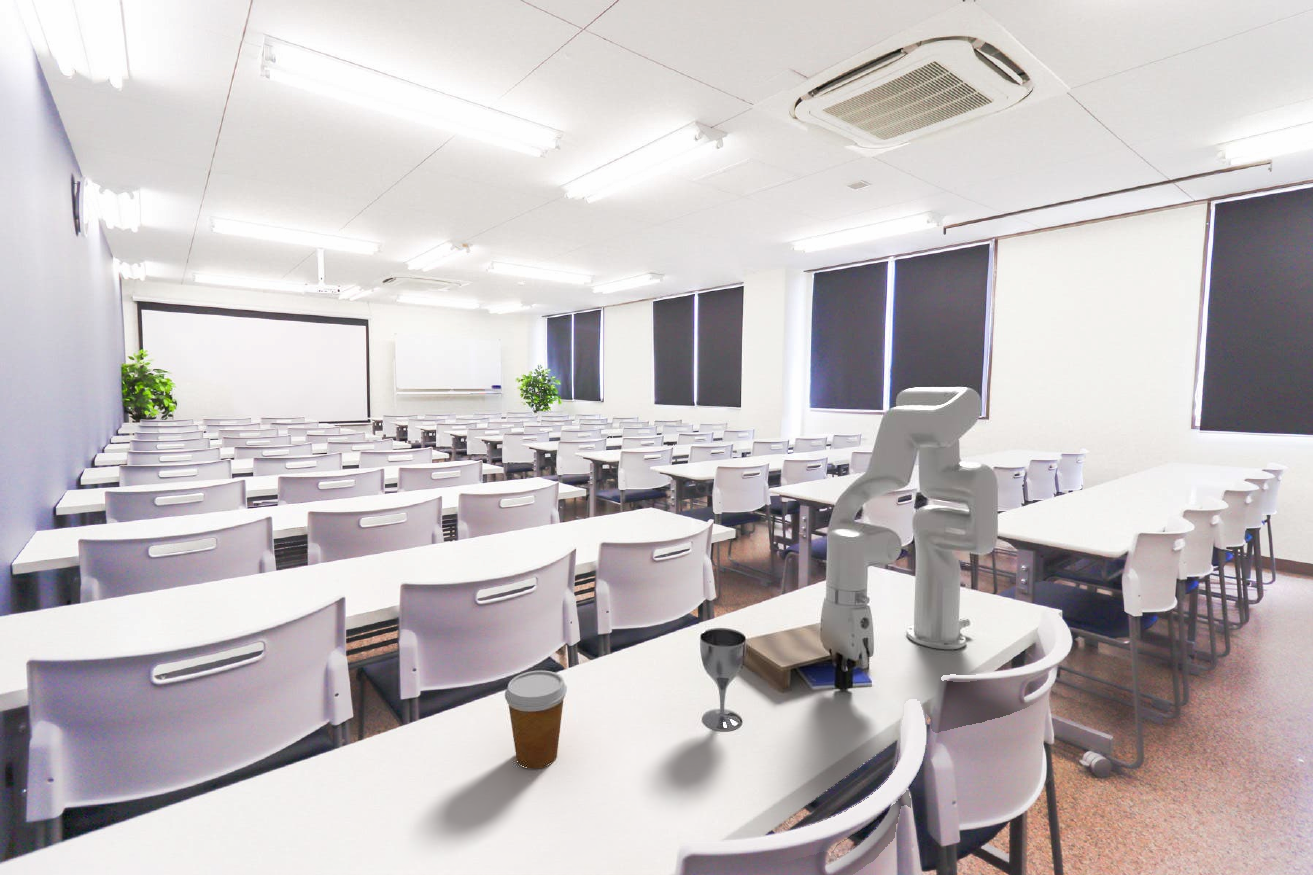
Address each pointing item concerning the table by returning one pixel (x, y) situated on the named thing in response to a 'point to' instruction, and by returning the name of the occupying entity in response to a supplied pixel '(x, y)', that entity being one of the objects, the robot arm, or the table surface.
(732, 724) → the wine glass
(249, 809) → the table surface
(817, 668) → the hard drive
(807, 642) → the wooden shelf
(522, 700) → the disposable coffee cup
